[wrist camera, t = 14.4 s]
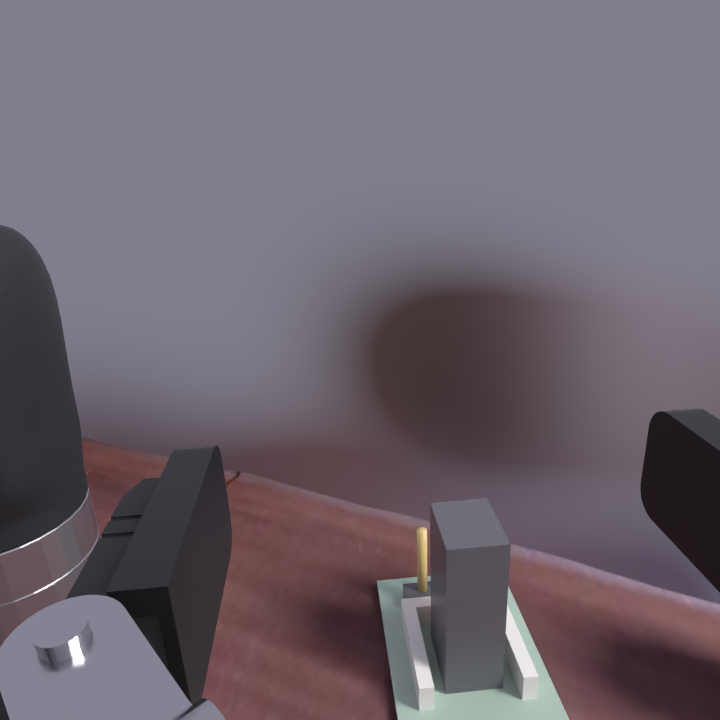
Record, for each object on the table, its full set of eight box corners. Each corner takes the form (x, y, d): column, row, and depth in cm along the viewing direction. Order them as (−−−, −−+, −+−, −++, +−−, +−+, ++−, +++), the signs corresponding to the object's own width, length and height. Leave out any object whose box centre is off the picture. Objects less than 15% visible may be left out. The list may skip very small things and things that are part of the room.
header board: (573, 738, 36) (584, 647, 33) (402, 757, 35) (400, 666, 33) (500, 574, 50) (503, 501, 47) (377, 586, 49) (373, 512, 47)
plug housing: (502, 688, 39) (510, 544, 35) (445, 694, 39) (446, 550, 35) (481, 630, 44) (486, 497, 40) (430, 635, 43) (430, 502, 39)
